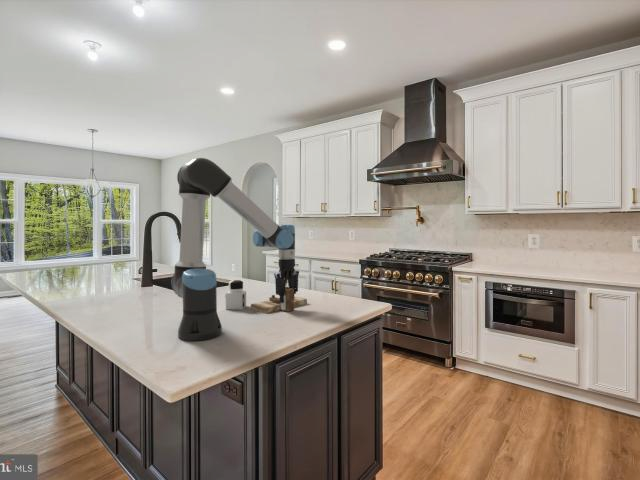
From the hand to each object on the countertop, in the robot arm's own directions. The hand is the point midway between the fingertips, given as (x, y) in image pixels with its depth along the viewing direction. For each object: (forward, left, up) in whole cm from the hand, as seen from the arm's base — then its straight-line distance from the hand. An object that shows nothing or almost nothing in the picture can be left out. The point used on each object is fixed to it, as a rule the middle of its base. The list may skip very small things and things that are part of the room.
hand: (287, 308), depth 167 cm
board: (+3, +9, -1) cm, 9 cm away
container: (-13, +22, -1) cm, 25 cm away
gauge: (0, +4, -1) cm, 4 cm away
